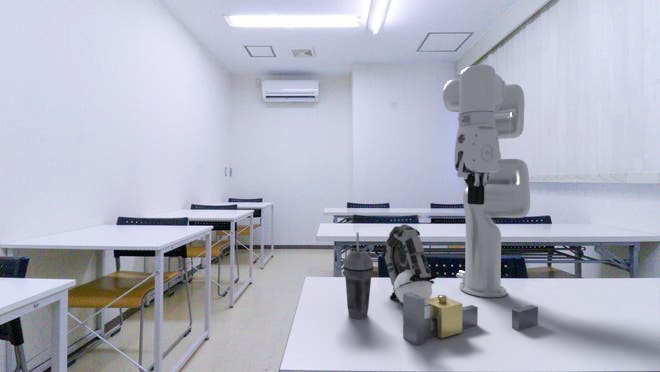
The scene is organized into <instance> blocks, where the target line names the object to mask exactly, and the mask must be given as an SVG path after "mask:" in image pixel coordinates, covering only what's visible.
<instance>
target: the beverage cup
mask: <svg viewBox="0 0 660 372" xmlns="http://www.w3.org/2000/svg"><path fill="white" fill-rule="evenodd" d="M359 234H360V233H359V232H356V250H352V251H351V252H349V253H348V254H347V256H346V257H345V259H344V262H343V274H344V277H345V290H346V291H345V292H346V302H347V303H346V305H347V312H348V317H349V318H351V319H355V320H363V319H366V318H367V317H368V312H369V305H370V296H371V295H370V294H371V285H372V277H373V272H374V269H375V267H374V262H373V259H372V257H371V256H370V255H369V254H368V252H366V251H364V250H361V249H360V241H359V240H360V239H359V238H360V237H359V236H360V235H359Z"/></svg>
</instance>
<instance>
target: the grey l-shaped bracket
mask: <svg viewBox="0 0 660 372" xmlns="http://www.w3.org/2000/svg"><path fill="white" fill-rule="evenodd" d="M402 304H403V308H402V309H403V311H402V315H403V317H402V321H403V322H402V338H403V339H405V340H407V341H408V342H409V343H411V344H413V345H414V346H417V347H418V346H421V345H425V340H429V339H431V338H435V337H438V319H437V318H434V317H432V316H431V303H428V302H425V298H423V297H421V296H418V295H416V294H414V293H411V292H410V293H404V294H403V303H402ZM478 318H479V317H478V306H475V305H466V306H462V330H465V329H468V328H472V327H475V326H478Z"/></svg>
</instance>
